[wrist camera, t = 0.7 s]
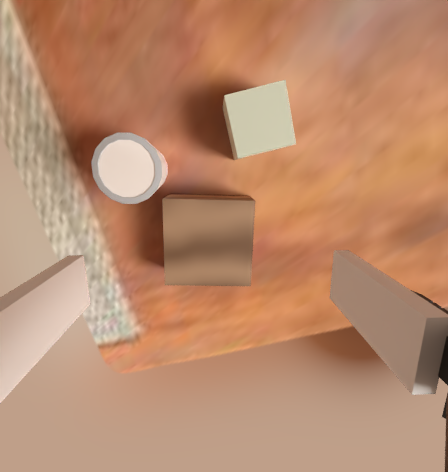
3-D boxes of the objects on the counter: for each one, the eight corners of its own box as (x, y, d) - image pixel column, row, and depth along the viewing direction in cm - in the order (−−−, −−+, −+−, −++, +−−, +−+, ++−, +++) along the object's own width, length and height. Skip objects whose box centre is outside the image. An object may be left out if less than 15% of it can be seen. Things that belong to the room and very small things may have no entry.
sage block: (222, 108, 32) (224, 95, 26) (272, 95, 32) (285, 79, 26) (234, 159, 34) (238, 158, 28) (281, 148, 34) (296, 144, 28)
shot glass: (104, 160, 33) (75, 158, 26) (150, 127, 32) (132, 116, 26) (139, 207, 35) (121, 217, 28) (184, 177, 34) (176, 179, 27)
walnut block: (170, 194, 34) (162, 198, 30) (249, 196, 35) (255, 200, 30) (171, 269, 37) (164, 285, 32) (246, 270, 37) (250, 286, 32)
